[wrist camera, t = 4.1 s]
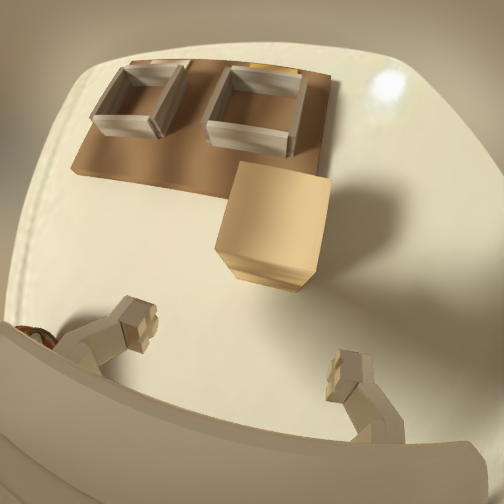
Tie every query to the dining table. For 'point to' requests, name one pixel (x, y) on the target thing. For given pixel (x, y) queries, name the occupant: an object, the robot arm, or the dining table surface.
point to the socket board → (203, 123)
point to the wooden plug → (273, 225)
